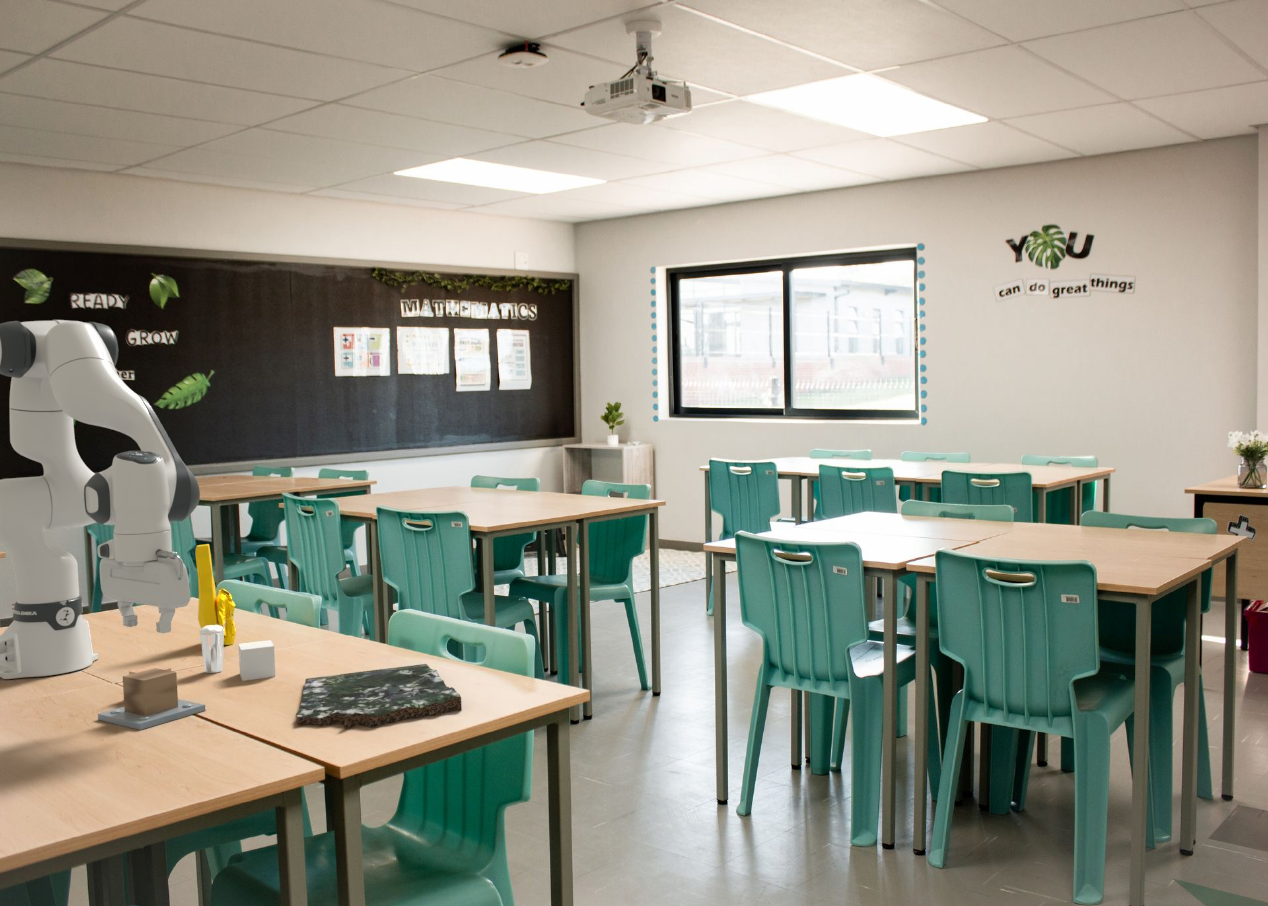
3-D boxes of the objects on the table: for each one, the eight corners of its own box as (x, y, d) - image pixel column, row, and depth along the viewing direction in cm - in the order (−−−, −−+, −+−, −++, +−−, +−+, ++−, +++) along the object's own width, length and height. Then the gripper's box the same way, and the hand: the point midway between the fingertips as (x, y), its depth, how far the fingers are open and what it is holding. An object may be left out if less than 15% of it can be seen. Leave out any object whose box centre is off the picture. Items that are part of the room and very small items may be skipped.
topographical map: (426, 671, 207) (425, 656, 206) (465, 717, 176) (464, 699, 176) (286, 689, 197) (285, 673, 197) (301, 740, 167) (300, 721, 166)
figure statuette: (235, 650, 227) (229, 548, 226) (195, 654, 225) (190, 550, 224) (240, 633, 244) (235, 538, 243) (203, 636, 242) (198, 540, 241)
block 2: (124, 711, 180) (122, 676, 180) (157, 702, 185) (155, 668, 185) (145, 716, 177) (143, 680, 177) (178, 706, 182) (176, 672, 182)
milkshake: (221, 674, 207) (219, 623, 207) (196, 674, 208) (194, 623, 208) (234, 668, 212) (232, 618, 211) (210, 668, 213) (207, 618, 212)
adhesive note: (239, 674, 208) (238, 643, 207) (272, 670, 210) (270, 639, 210) (242, 681, 202) (240, 649, 202) (275, 677, 205) (274, 645, 204)
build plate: (98, 719, 179) (97, 712, 179) (163, 701, 189) (162, 694, 189) (140, 729, 173) (140, 722, 173) (205, 710, 183) (205, 703, 183)
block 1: (130, 698, 192) (128, 671, 192) (155, 691, 196) (154, 665, 196) (146, 702, 189) (145, 674, 189) (172, 695, 194) (170, 668, 193)
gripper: (198, 549, 177) (201, 632, 178) (125, 541, 188) (129, 619, 189) (163, 555, 171) (167, 640, 172) (91, 546, 182) (95, 626, 183)
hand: (147, 629), depth 180 cm, fingers open, 8 cm apart
